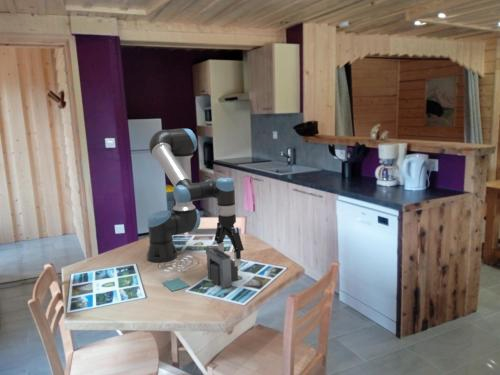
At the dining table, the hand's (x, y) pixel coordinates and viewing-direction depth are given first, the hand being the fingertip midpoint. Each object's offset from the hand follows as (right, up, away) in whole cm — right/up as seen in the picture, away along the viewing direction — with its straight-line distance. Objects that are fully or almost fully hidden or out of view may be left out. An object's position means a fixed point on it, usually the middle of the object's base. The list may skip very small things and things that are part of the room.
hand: (229, 261), depth 181 cm
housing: (-4, -9, -1) cm, 10 cm away
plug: (-2, -9, 0) cm, 9 cm away
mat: (-23, -10, -2) cm, 25 cm away
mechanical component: (-7, -6, +16) cm, 19 cm away
